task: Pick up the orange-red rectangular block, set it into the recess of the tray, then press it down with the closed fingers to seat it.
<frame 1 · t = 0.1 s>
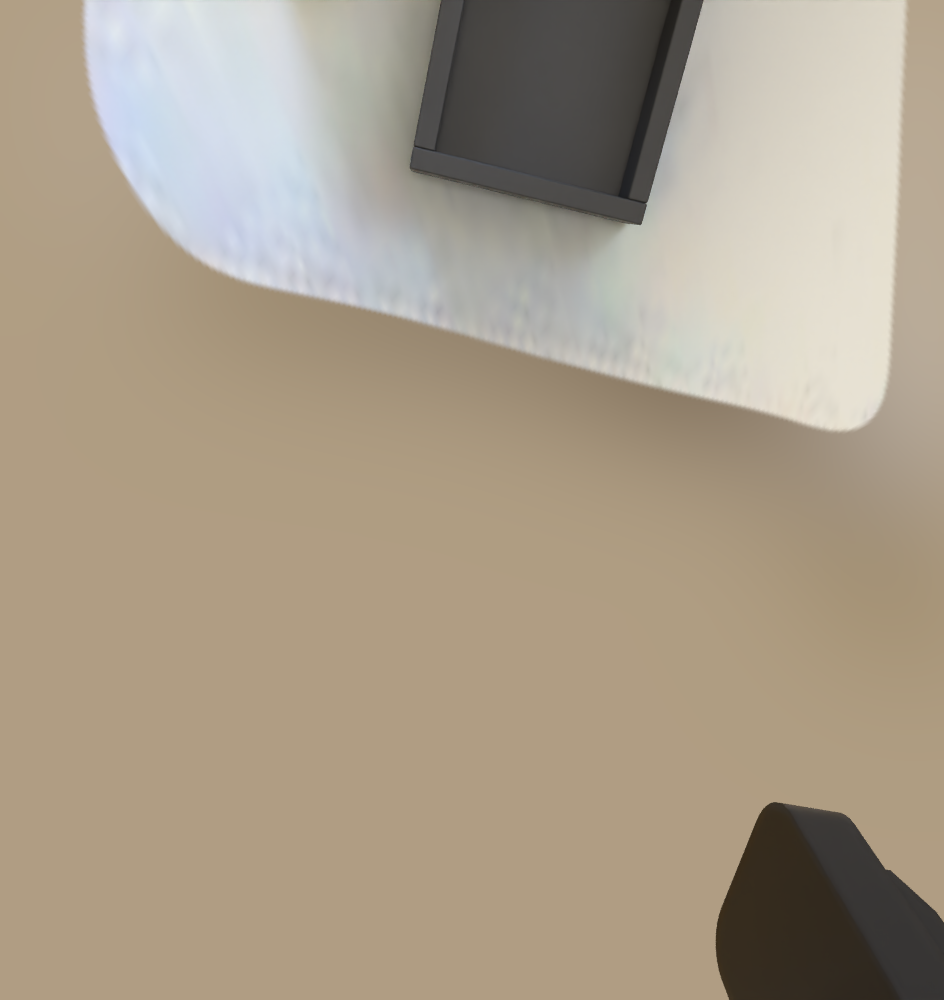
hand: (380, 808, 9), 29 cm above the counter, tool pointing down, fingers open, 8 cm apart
tray: (565, 5, 32), on the counter
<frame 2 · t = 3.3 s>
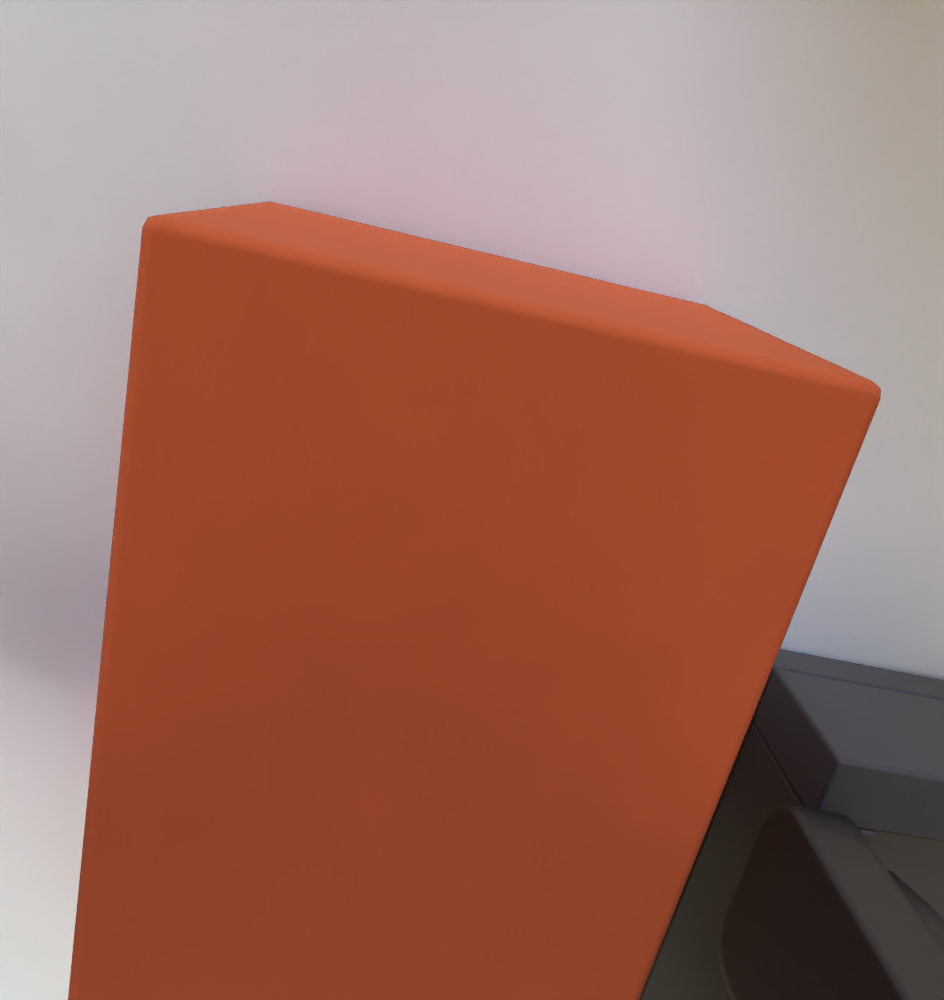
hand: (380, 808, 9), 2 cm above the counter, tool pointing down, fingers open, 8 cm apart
orange-red rectangular block: (402, 651, 11), on the counter
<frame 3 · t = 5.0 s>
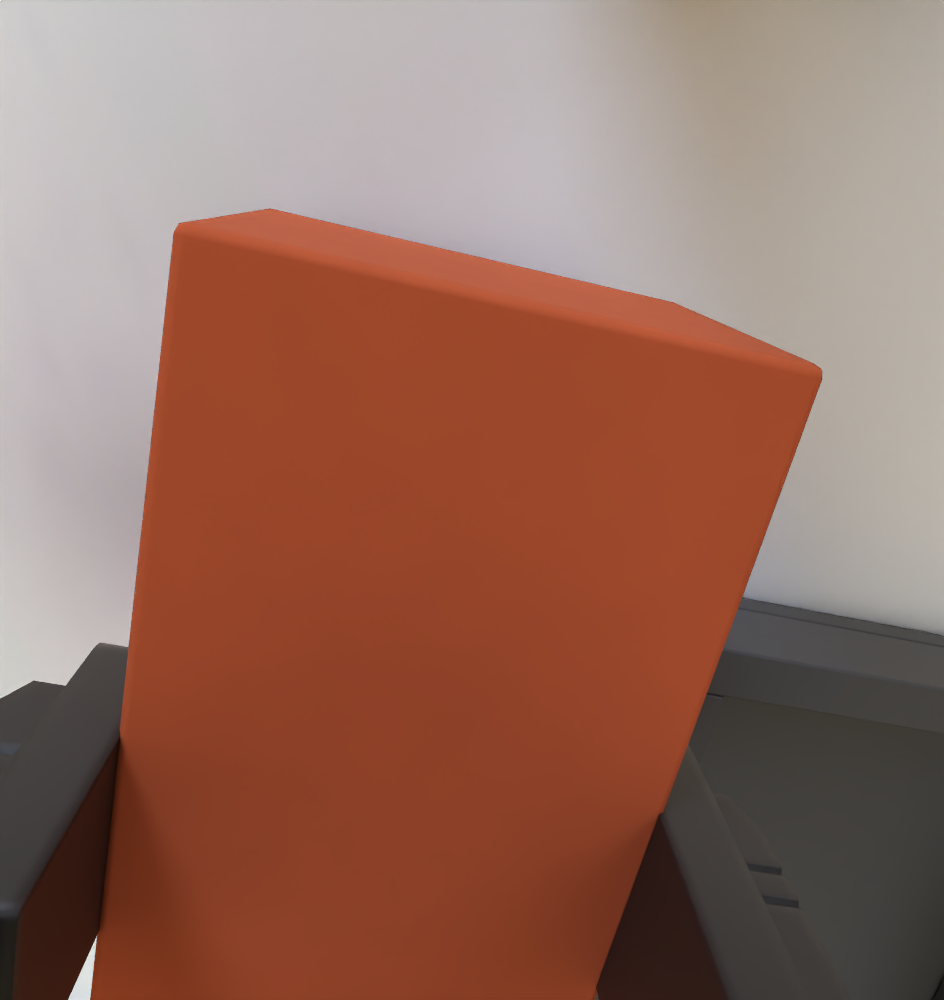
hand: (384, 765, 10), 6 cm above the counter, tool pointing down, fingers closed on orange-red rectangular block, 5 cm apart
orange-red rectangular block: (395, 628, 12), point 3 cm above the counter, touching gripper
tray: (764, 924, 18), on the counter
when the fingers open (3 cm above the counter, at t = 9.6 s): orange-red rectangular block stays where it is, resting on tray.
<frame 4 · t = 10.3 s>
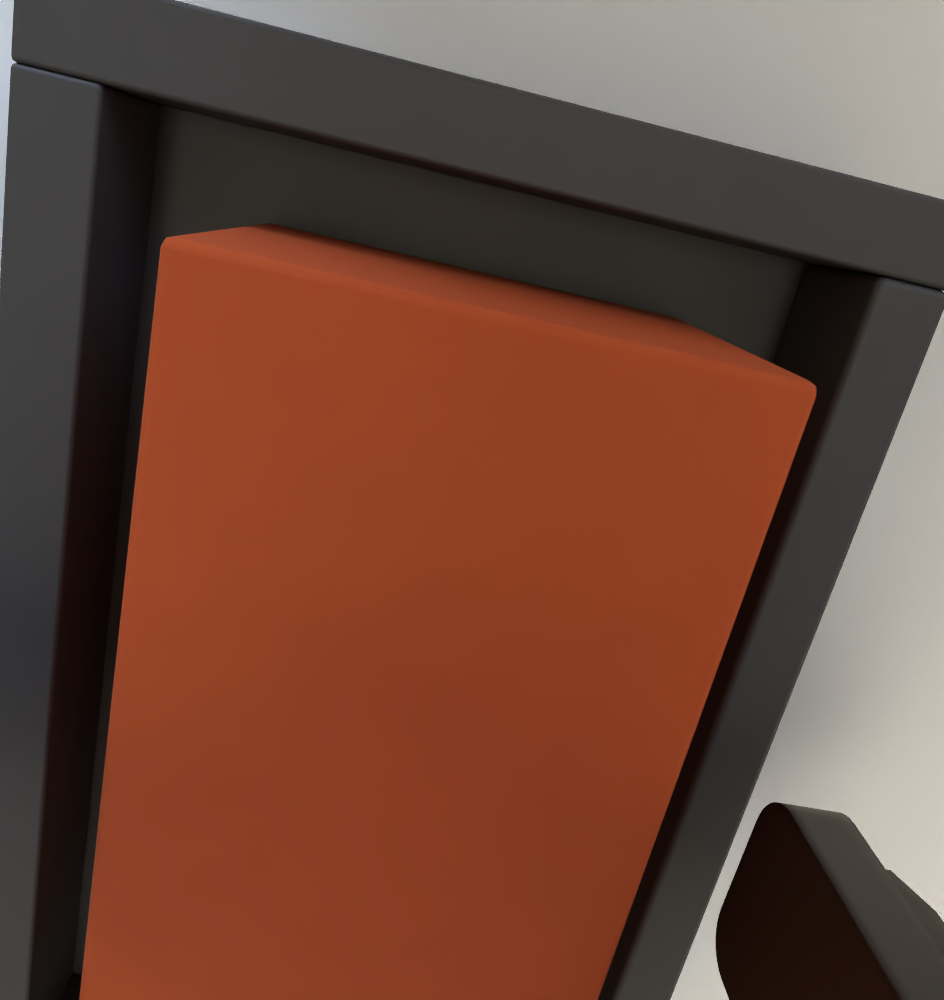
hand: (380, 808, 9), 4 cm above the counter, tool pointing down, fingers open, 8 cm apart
orange-red rectangular block: (394, 643, 12), point 1 cm above the counter, touching tray
tray: (393, 642, 12), on the counter
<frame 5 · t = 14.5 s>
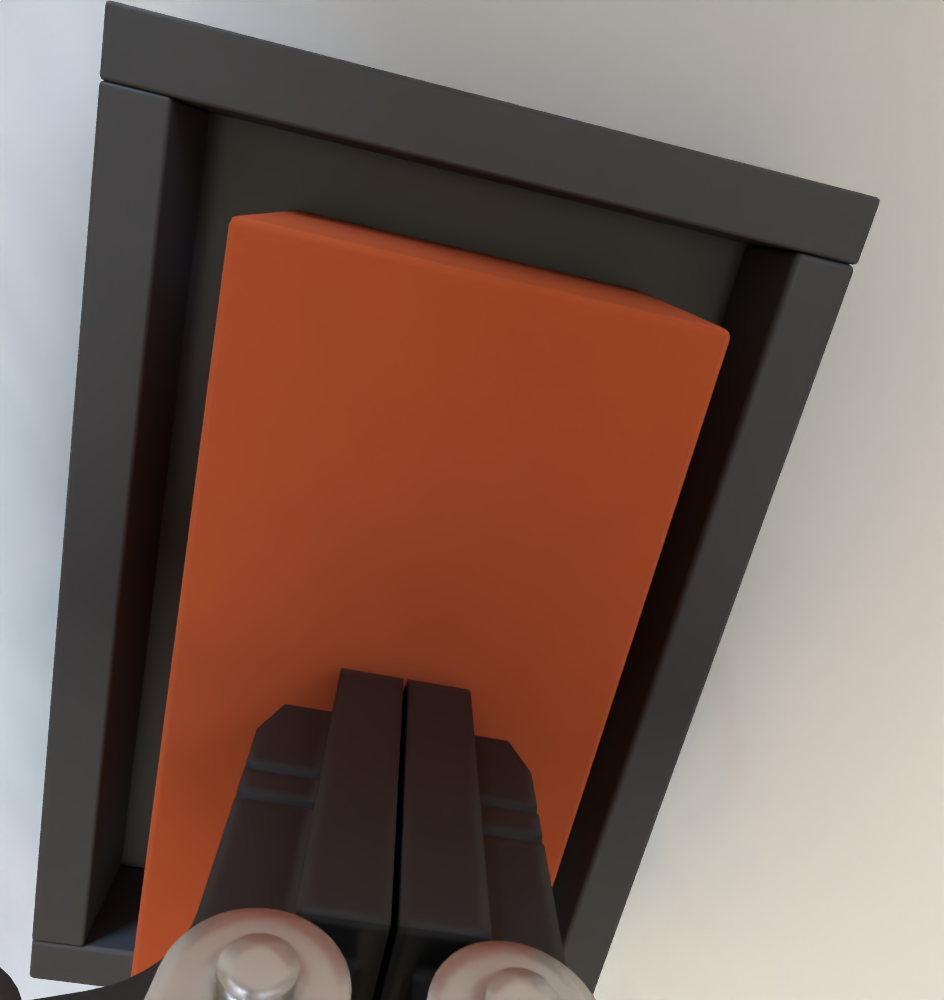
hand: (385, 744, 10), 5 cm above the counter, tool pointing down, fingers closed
orange-red rectangular block: (401, 570, 14), point 1 cm above the counter, touching tray, gripper
tray: (400, 572, 14), on the counter
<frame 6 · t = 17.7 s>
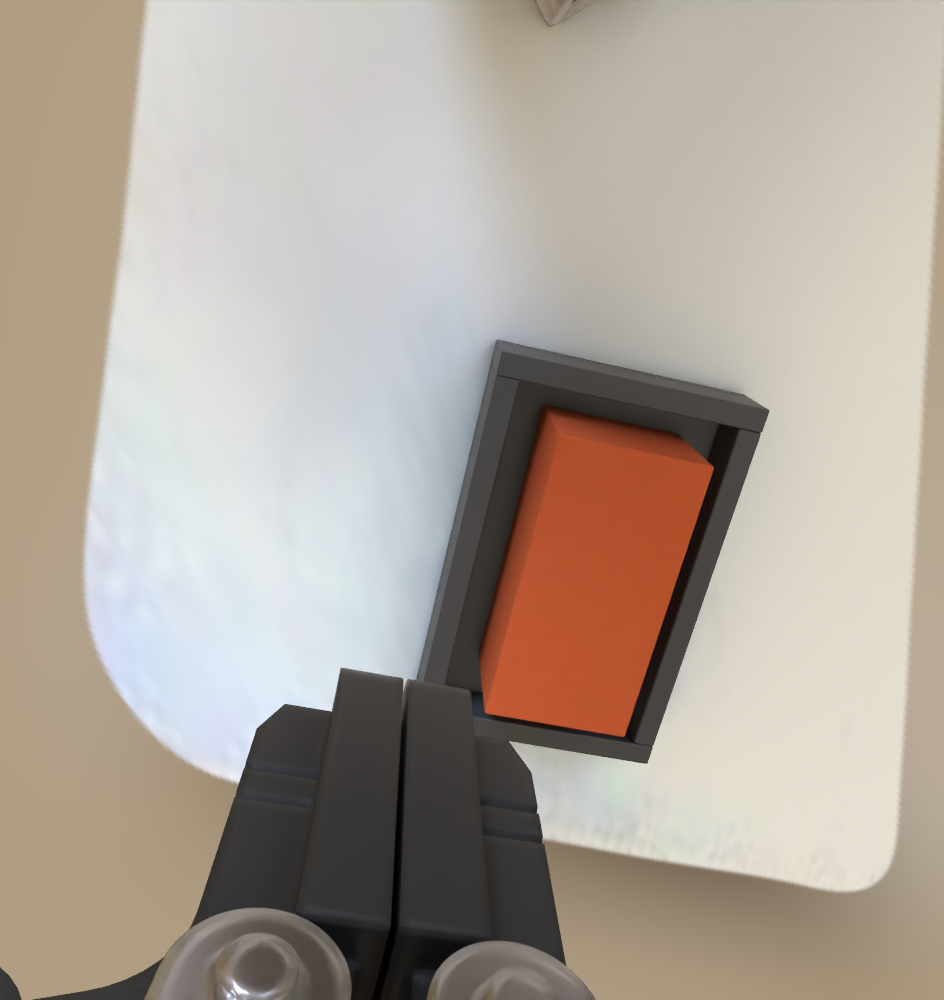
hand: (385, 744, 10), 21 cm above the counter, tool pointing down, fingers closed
orange-red rectangular block: (574, 548, 31), point 1 cm above the counter, touching tray
tray: (570, 550, 32), on the counter
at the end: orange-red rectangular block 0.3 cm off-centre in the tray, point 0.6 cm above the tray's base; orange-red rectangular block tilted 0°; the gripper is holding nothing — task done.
